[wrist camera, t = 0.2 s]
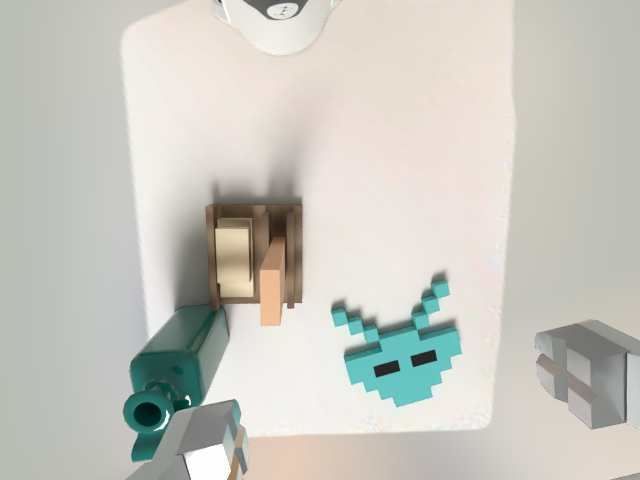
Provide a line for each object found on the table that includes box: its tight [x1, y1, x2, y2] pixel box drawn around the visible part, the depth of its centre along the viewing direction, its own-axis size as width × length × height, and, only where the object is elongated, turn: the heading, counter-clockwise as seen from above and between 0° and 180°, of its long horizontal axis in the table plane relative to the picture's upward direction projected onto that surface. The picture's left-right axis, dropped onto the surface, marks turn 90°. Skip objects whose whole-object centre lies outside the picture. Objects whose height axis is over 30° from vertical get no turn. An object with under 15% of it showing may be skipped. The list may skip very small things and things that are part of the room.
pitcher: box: [123, 304, 229, 462], centre depth 48 cm, size 10×8×22 cm
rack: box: [206, 204, 302, 311], centre depth 53 cm, size 16×14×6 cm
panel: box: [260, 237, 286, 326], centre depth 45 cm, size 6×2×20 cm, turn 179°
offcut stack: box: [215, 218, 255, 297], centre depth 52 cm, size 12×5×5 cm, turn 179°
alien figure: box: [331, 280, 462, 407], centre depth 61 cm, size 20×2×20 cm
